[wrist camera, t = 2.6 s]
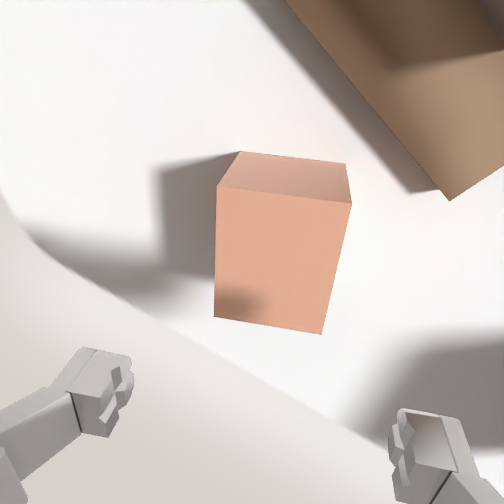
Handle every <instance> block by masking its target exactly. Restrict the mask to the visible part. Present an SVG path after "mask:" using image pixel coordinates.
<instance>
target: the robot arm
mask: <svg viewBox="0 0 504 504" xmlns="http://www.w3.org/2000/svg"><path fill="white" fill-rule="evenodd" d="M131 365H132V361H131V357H129V356H125V355H120V354H115V353H111V352H106V351H102V350H97V349H92V348H87V347H83V348H81V349H79V350H78V351H77V353H76V354H75V355H74V356H73V358H72V359H71V360H70V361H69V363H68V364H67V365H66V367H65V368H64V369H63V370H62V372H61V373H60V374H59V375H58V376H57V378H56V379H55V380H54V382H53V383H52V384H51V385H50V386H49V388H42V389H40V390H38V391H36V392H34V393H32V394H30V395H29V396H27V397H25V398H23V399H21V400H19V401H17V402H15V403H14V404H12V405H10V406H8V407H6V408H4V409H2V410H0V504H26V503H27V502H28V498H27V494H26V492H25V490H24V488H23V486H22V484H21V481H22V480H23V479H25V477H27V476H28V475H30V474H31V473H32V472H34V471H35V470H36V469H37V468H39V467H40V466H41V465H42V464H44V463H45V462H46V461H48V460H49V459H50V458H52V457H53V456H54V455H55V454H57V453H58V452H59V451H60V450H62V449H63V448H64V447H65V446H67V445H68V444H70V443H71V442H72V441H73V440H75V439H76V438H77V437H78V436H80V435H81V433H86V434H91V435H97V436H102V437H107V438H108V437H109V435H110V434H111V432H112V430H113V428H114V426H115V425H116V423H117V421H118V419H119V414H118V410H119V409H121V408H122V407H124V406H125V405H126V404H127V402H128V400H129V399H130V397H131V393H132V390H133V387H134V376H133V373H132V372H131V371H130V370H129V369H130V367H131ZM396 417H397V422H398V423H396V424H394V425H392V427H391V430H390V432H389V439H388V452H389V459H390V461H391V462H392V463H393V465H394V466H395V467H396V468H395V470H394V472H393V474H392V480H393V486H394V492H395V499H396V501H400V502H404V503H408V504H504V498H503V497H502V496H501V495H500V494H499V493H498V492H497V490H496V489H495V488H494V487H493V486H492V485H491V484H490V483H489V482H488V481H487V480H486V479H484V478H480V476H479V473H478V470H477V467H476V465H475V462H474V459H473V456H472V453H471V450H470V448H469V445H468V442H467V439H466V436H465V434H464V431H463V428H462V425H461V422H460V421H459V420H458V419H457V418H453V417H447V416H442V415H437V414H434V413H428V412H422V411H417V410H411V409H405V408H401V409H400V410H399V411H398V413H397V415H396Z"/></svg>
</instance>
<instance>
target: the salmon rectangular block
mask: <svg viewBox="0 0 504 504" xmlns="http://www.w3.org/2000/svg"><path fill="white" fill-rule="evenodd" d="M351 205H352V201H351V195H350V189H349V183H348V177H347V170H346V164H342V163H334V162H326V161H317V160H309V159H301V158H293V157H284V156H276V155H268V154H259V153H251V152H243V151H240V152H239V154H238V155H237V157H236V158H235V160H234V161H233V163H232V164H231V166H230V167H229V169H228V170H227V172H226V173H225V175H224V176H223V178H222V179H221V181H220V182H219V183H218V185H217V199H216V245H215V291H214V317H219V318H225V319H231V320H237V321H243V322H249V323H255V324H261V325H267V326H273V327H279V328H285V329H290V330H296V331H302V332H308V333H314V334H320V335H321V334H322V330H323V325H324V321H325V317H326V313H327V308H328V304H329V300H330V295H331V291H332V287H333V283H334V278H335V274H336V270H337V265H338V261H339V257H340V253H341V248H342V244H343V240H344V235H345V231H346V227H347V223H348V218H349V214H350V210H351Z"/></svg>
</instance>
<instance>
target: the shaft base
mask: <svg viewBox="0 0 504 504" xmlns="http://www.w3.org/2000/svg"><path fill="white" fill-rule="evenodd" d="M284 1H285V2H286V3H287V5H288V6H289V7H290V8H291V9H292V11H293V12H294V13H295V14H296V15H297V17H298V18H299V19H300V20H301V22H302V23H303V24H304V25H305V26H306V28H307V29H308V30H309V31H310V32H311V34H312V35H313V36H314V37H315V39H316V40H317V41H318V42H319V43H320V45H321V46H322V47H323V48H324V50H325V51H326V52H327V53H328V54H329V56H330V57H331V58H332V59H333V60H334V62H335V63H336V64H337V65H338V67H339V68H340V69H341V70H342V71H343V73H344V74H345V75H346V76H347V77H348V79H349V80H350V81H351V82H352V84H353V85H354V86H355V87H356V88H357V90H358V91H359V92H360V93H361V95H362V96H363V97H364V98H365V99H366V101H367V102H368V103H369V104H370V105H371V107H372V108H373V109H374V110H375V112H376V113H377V114H378V115H379V116H380V118H381V119H382V120H383V121H384V122H385V124H386V125H387V126H388V127H389V129H390V130H391V131H392V132H393V133H394V135H395V136H396V137H397V138H398V140H399V141H400V142H401V143H402V144H403V146H404V147H405V148H406V149H407V150H408V152H409V153H410V154H411V155H412V157H413V158H414V159H415V160H416V161H417V163H418V164H419V165H420V166H421V167H422V169H423V170H424V171H425V172H426V174H427V175H428V176H429V177H430V178H431V180H432V181H433V182H434V183H435V184H436V186H437V187H438V188H439V189H440V191H441V192H442V193H443V194H444V195H445V197H446V198H447V199H448V200H449V201H451V200H452V199H454V198H455V197H457V196H458V195H460V194H461V193H463V192H464V191H466V190H467V189H469V188H470V187H472V186H473V185H475V184H477V183H478V182H480V181H481V180H483V179H484V178H486V177H487V176H489V175H490V174H492V173H493V172H495V171H496V170H498V169H499V168H501V167H502V166H504V0H284Z"/></svg>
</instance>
